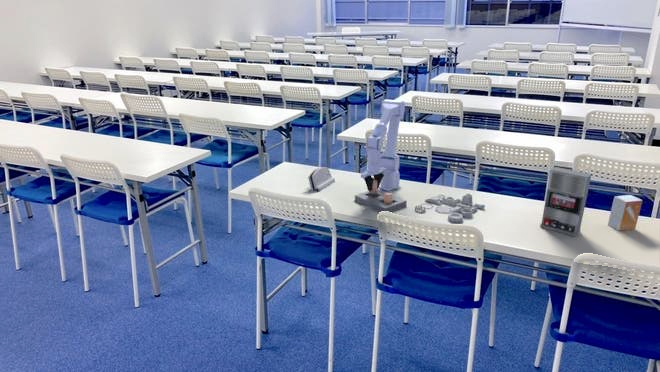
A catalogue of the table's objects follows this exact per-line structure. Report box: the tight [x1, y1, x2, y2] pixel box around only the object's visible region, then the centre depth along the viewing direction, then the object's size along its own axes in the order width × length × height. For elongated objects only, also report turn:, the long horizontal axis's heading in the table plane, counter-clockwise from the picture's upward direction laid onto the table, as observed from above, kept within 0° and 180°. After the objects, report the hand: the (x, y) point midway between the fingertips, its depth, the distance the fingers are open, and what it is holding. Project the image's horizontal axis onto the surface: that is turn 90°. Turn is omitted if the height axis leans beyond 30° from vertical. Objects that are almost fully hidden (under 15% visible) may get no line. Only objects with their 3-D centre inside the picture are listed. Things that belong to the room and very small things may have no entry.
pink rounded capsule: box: [368, 179, 377, 194], centre depth 221 cm, size 4×4×6 cm
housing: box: [354, 188, 407, 212], centre depth 219 cm, size 20×14×2 cm
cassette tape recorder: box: [539, 166, 592, 237], centre depth 188 cm, size 14×6×25 cm, turn 49°
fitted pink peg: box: [384, 192, 394, 205], centre depth 215 cm, size 4×4×6 cm
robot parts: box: [414, 193, 486, 223], centre depth 212 cm, size 25×25×5 cm
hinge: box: [307, 166, 336, 192], centre depth 240 cm, size 17×5×10 cm, turn 151°
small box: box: [607, 194, 643, 232], centre depth 192 cm, size 8×6×13 cm
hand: (373, 189), depth 221 cm, fingers closed on pink rounded capsule, 4 cm apart
